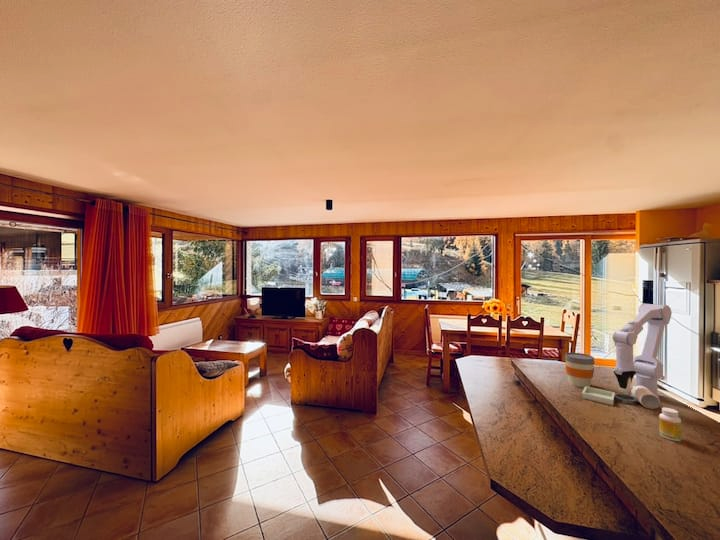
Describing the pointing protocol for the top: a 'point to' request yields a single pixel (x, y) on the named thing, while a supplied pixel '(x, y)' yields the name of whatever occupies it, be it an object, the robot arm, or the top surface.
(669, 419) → the supplement bottle
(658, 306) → the robot arm
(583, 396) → the tray
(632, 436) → the top surface
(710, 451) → the top surface
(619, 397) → the collar
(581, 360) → the reusable coffee cup
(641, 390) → the can
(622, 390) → the peg
